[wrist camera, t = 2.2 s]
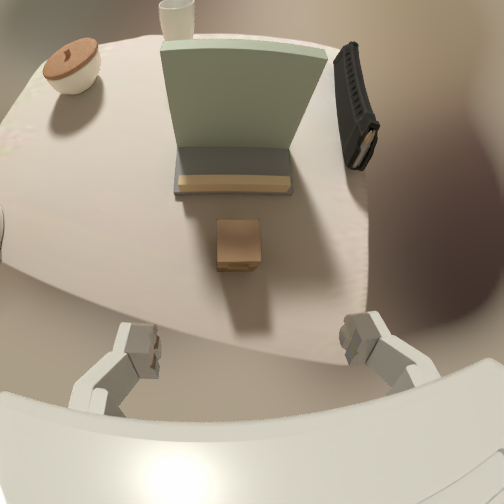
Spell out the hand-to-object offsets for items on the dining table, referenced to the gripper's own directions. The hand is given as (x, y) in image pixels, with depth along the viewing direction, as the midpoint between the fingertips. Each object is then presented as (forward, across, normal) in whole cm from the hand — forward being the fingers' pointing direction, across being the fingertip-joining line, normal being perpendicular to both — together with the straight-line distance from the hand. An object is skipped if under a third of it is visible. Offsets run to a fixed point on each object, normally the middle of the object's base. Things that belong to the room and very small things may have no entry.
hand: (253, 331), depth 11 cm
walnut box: (+26, -1, +13) cm, 29 cm away
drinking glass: (+56, +10, -18) cm, 60 cm away
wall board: (+36, -1, +3) cm, 36 cm away
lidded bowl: (+53, +32, -14) cm, 64 cm away
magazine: (+46, -23, -7) cm, 52 cm away
